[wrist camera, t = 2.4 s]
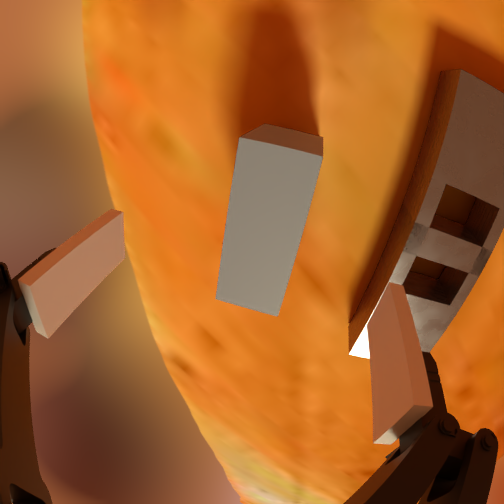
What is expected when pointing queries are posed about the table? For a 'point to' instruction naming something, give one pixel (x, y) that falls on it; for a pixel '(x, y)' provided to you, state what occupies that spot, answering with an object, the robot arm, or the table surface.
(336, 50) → the table surface
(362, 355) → the block with rectangular hole
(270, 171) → the upright grey box
